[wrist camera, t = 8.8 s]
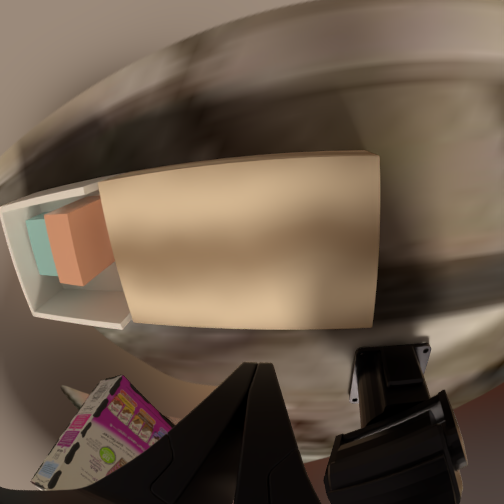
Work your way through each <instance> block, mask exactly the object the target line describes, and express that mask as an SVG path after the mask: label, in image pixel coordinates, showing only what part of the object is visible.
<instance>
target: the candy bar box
mask: <svg viewBox="0 0 504 504" xmlns="http://www.w3.org/2000/svg"><path fill="white" fill-rule="evenodd" d="M173 427H174V425H173V424H172V423H171V422H169V421H168V420H167V419H166V418H165V417H164V416H163V415H162V414H161V413H160V412H159V411H158V410H157V409H156V408H155V407H154V406H153V405H152V404H151V403H150V402H149V401H148V400H147V399H146V398H145V397H144V396H143V395H142V394H141V393H140V392H139V391H138V390H137V389H136V388H135V387H134V386H133V385H132V384H131V383H130V382H129V381H128V380H127V378H126V377H125V376H124V375H119V376H115V377H112V378H107V379H103V380H101V381H100V382H99V383H98V384H97V386H96V387H95V389H94V390H93V391H92V393H91V394H90V396H89V397H88V398H87V400H86V401H85V403H84V404H83V405H82V407H81V408H80V410H79V411H78V412H77V414H76V415H75V417H74V418H73V419H72V421H71V422H70V424H69V425H68V427H67V428H66V429H65V431H64V433H63V434H62V435H61V437H60V438H59V440H58V441H57V442H56V444H55V446H54V447H53V448H52V450H51V451H50V453H49V454H48V456H47V457H46V459H45V460H44V462H43V463H42V465H41V466H40V468H39V469H38V471H37V472H36V474H35V475H34V477H33V478H32V480H31V482H32V484H34V485H35V486H36V487H37V488H39V489H40V490H70V489H78V488H82V487H85V486H88V485H91V484H93V483H95V482H97V481H98V480H100V479H102V478H104V477H105V476H107V475H109V474H110V473H112V472H114V471H115V470H117V469H118V468H120V467H122V466H123V465H125V464H126V463H128V462H130V461H131V460H133V459H134V458H135V457H137V456H138V455H140V454H141V453H143V452H144V451H145V450H147V449H148V448H149V447H150V446H152V445H153V444H154V443H155V442H157V441H158V440H159V439H160V438H161V437H163V436H164V435H165V434H168V431H170V430H171V429H172V428H173Z"/></svg>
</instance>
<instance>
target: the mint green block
mask: <svg viewBox="0 0 504 504" xmlns="http://www.w3.org/2000/svg"><path fill="white" fill-rule="evenodd" d="M47 213H49V212H43V213H41V214H39V215H36V216H34V217H32V218H30V219H28V220H26V225H27V230H28V234H29V238H30V242H31V246H32V249H33V253H34V257H35V260H36V264H37V267H38V270H39V274H40V275H48V276H58V274H57V270H56V266H55V263H54V259H53V255H52V251H51V247H50V242H49V238H48V233H47V229H46V224H45V219H44V215H45V214H47Z"/></svg>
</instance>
